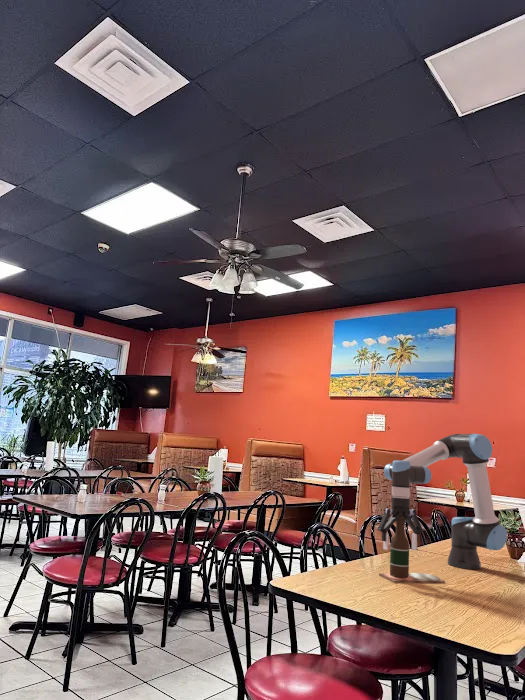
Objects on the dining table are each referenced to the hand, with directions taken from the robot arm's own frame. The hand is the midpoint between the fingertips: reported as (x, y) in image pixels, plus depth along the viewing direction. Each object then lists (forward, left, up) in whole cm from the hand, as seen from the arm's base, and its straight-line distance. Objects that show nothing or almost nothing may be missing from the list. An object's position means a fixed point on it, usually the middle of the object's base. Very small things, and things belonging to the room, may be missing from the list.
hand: (400, 549), depth 212 cm
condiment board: (-6, 0, -12) cm, 13 cm away
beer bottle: (0, 0, -11) cm, 11 cm away
